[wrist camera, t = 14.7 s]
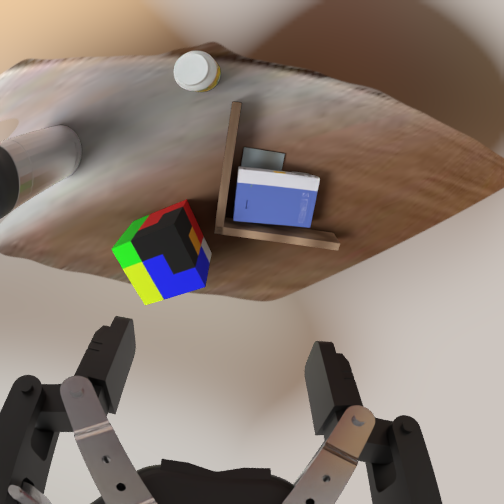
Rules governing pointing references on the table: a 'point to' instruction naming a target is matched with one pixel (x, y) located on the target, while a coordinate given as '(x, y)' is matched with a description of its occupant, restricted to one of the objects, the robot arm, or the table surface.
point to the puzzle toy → (164, 253)
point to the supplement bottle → (197, 71)
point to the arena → (260, 230)
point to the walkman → (275, 197)
